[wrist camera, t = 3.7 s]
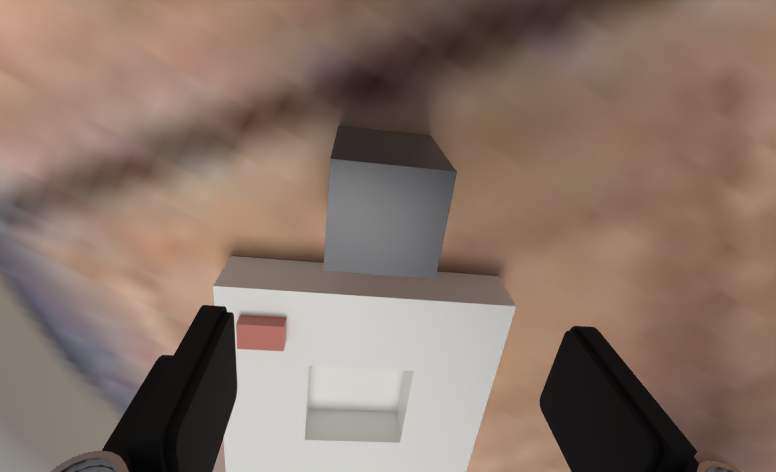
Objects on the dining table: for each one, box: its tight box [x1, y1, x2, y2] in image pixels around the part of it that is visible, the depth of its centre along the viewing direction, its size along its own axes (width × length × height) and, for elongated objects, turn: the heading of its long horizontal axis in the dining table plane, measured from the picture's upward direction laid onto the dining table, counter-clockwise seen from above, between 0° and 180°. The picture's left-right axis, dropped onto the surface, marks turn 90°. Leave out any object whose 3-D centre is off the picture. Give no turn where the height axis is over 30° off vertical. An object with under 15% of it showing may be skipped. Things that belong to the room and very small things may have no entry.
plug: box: [323, 126, 457, 279], centre depth 24 cm, size 6×6×8 cm
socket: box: [213, 256, 516, 472], centre depth 33 cm, size 20×20×5 cm
